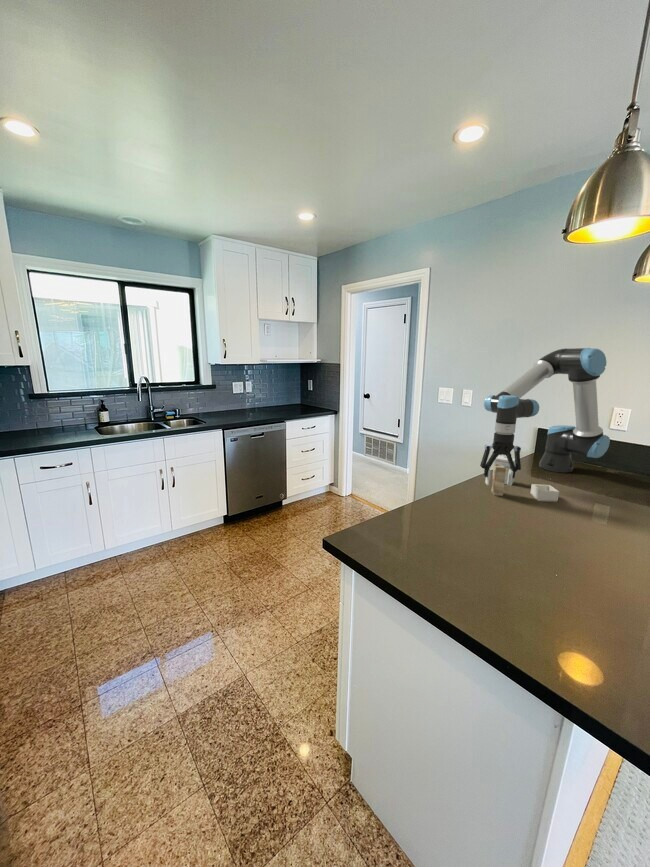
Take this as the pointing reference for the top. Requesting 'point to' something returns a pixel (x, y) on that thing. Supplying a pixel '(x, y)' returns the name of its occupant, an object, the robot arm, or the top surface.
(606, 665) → the top surface
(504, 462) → the ink box
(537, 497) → the white square open box
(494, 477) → the tan wooden block
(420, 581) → the top surface
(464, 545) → the top surface
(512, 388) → the robot arm
